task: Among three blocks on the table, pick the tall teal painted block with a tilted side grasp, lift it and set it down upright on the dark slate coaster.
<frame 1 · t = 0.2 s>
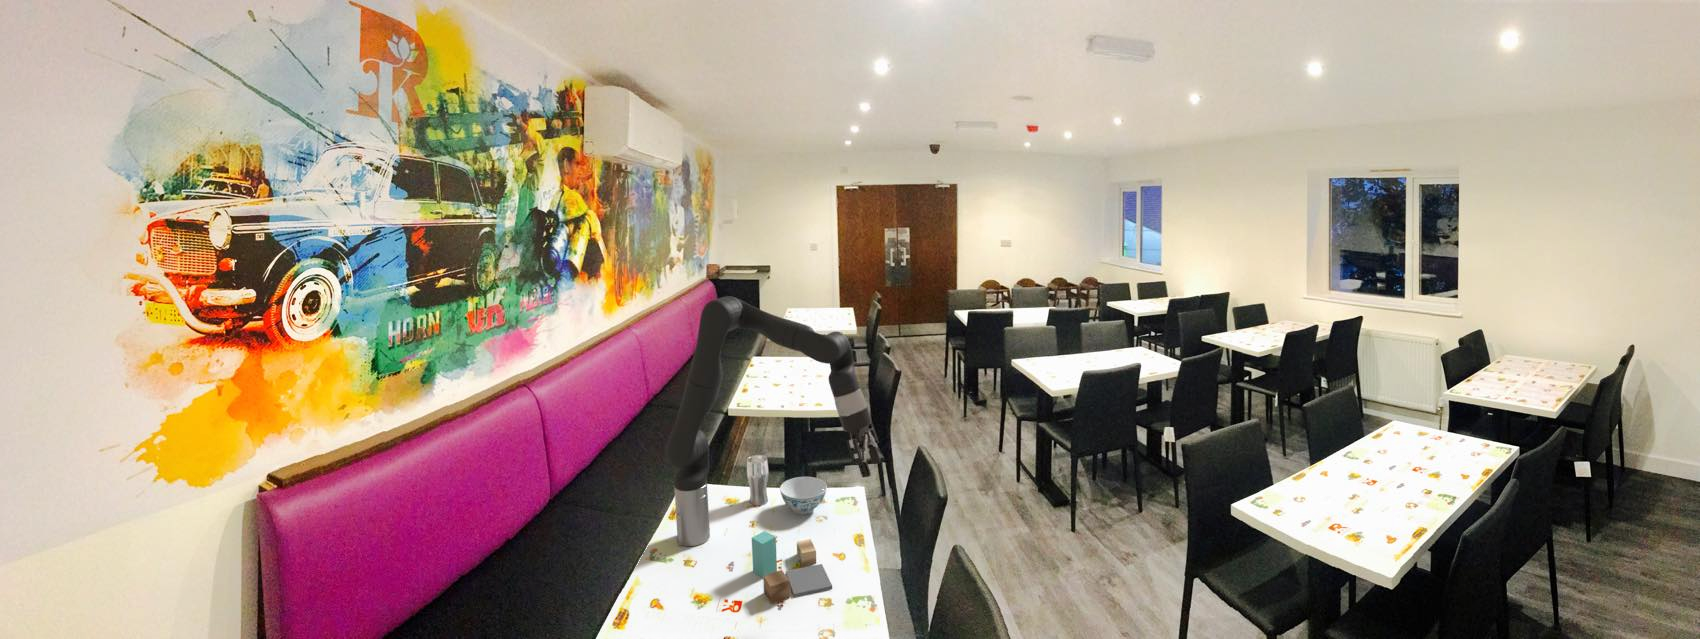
hand: (871, 469, 150), 31 cm above the table, tool tilted 20°, fingers open, 8 cm apart
chinaware: (804, 509, 192), on the table
walnut cube: (776, 595, 149), on the table
beer glass: (758, 501, 197), on the table
teal block: (765, 571, 159), on the table
coaster: (808, 581, 155), on the table
oak block: (806, 559, 165), on the table
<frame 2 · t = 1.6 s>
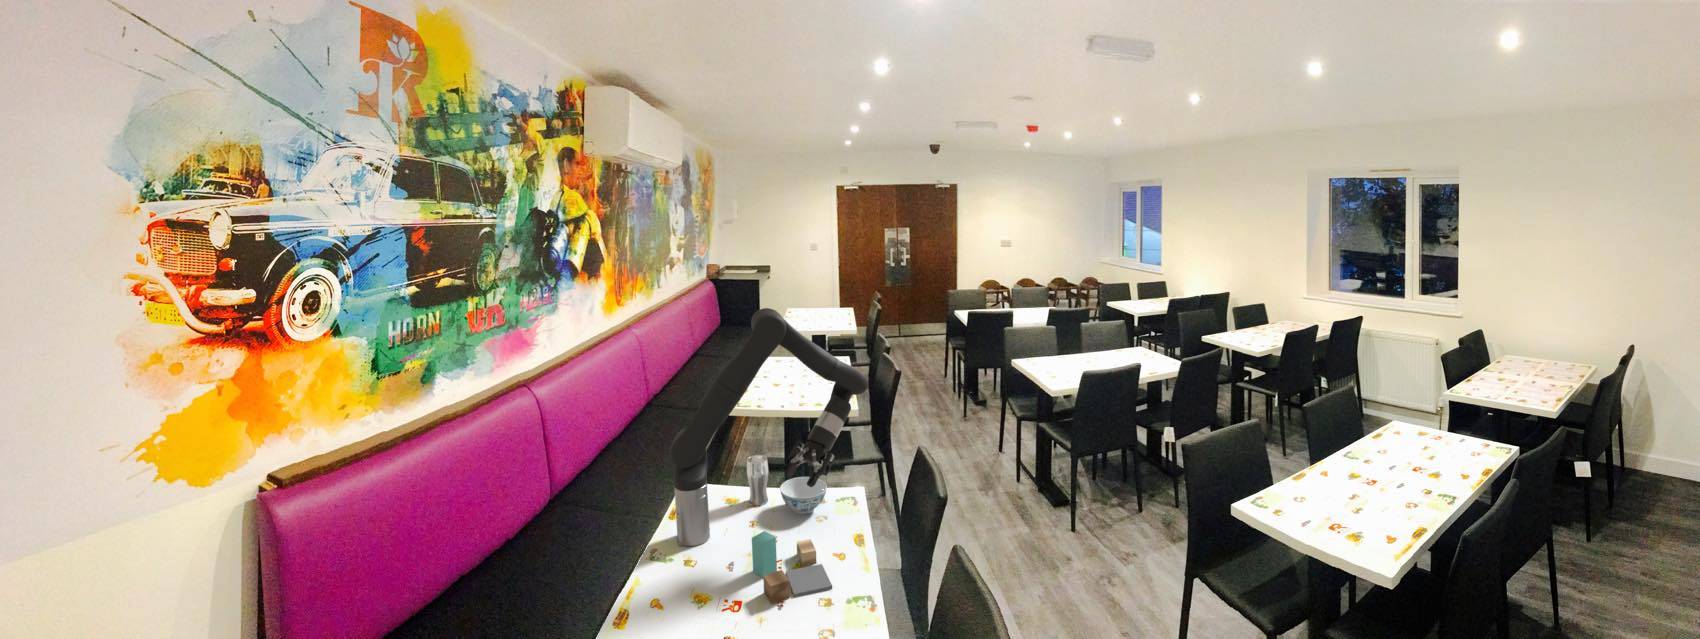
hand: (798, 481, 165), 21 cm above the table, tool tilted 45°, fingers open, 8 cm apart
nothing on the table moved.
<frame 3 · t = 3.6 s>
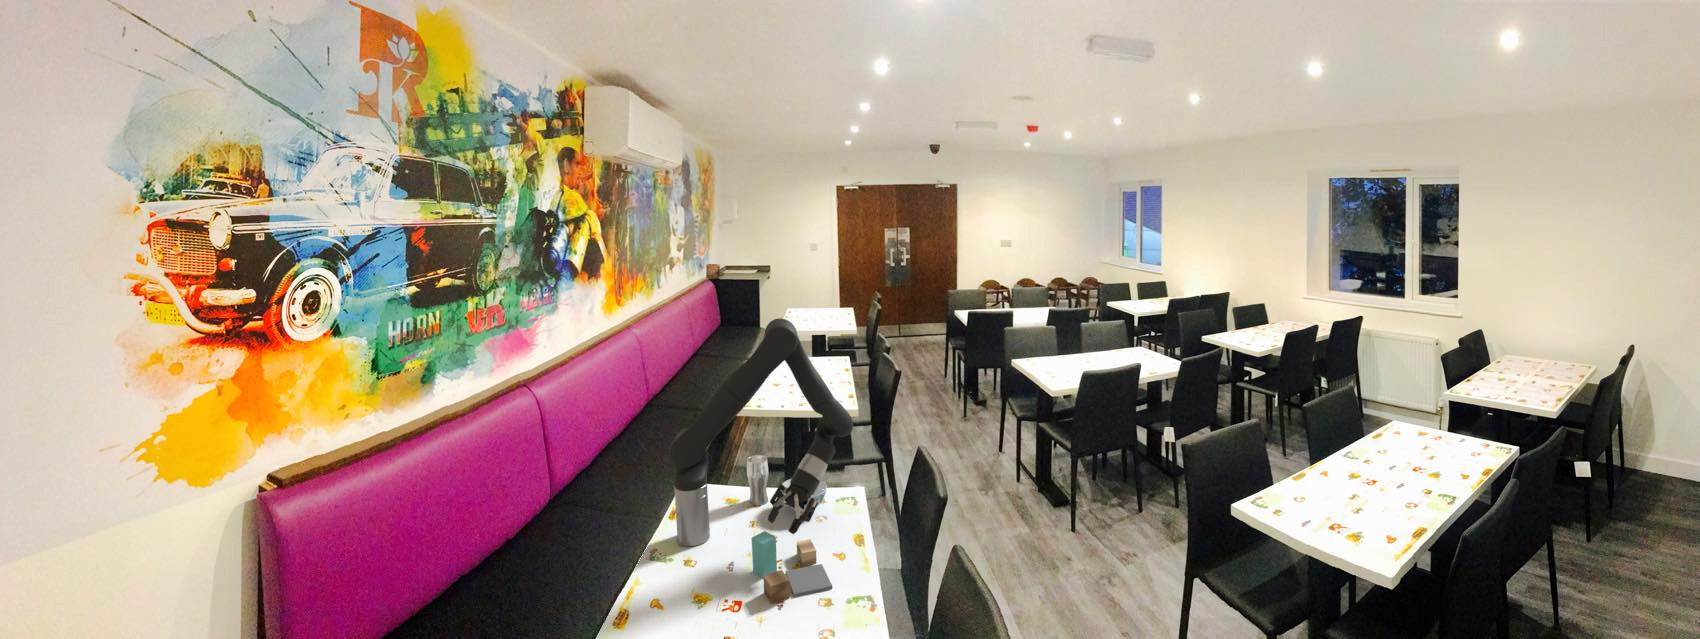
hand: (780, 527, 161), 10 cm above the table, tool tilted 45°, fingers open, 8 cm apart
nothing on the table moved.
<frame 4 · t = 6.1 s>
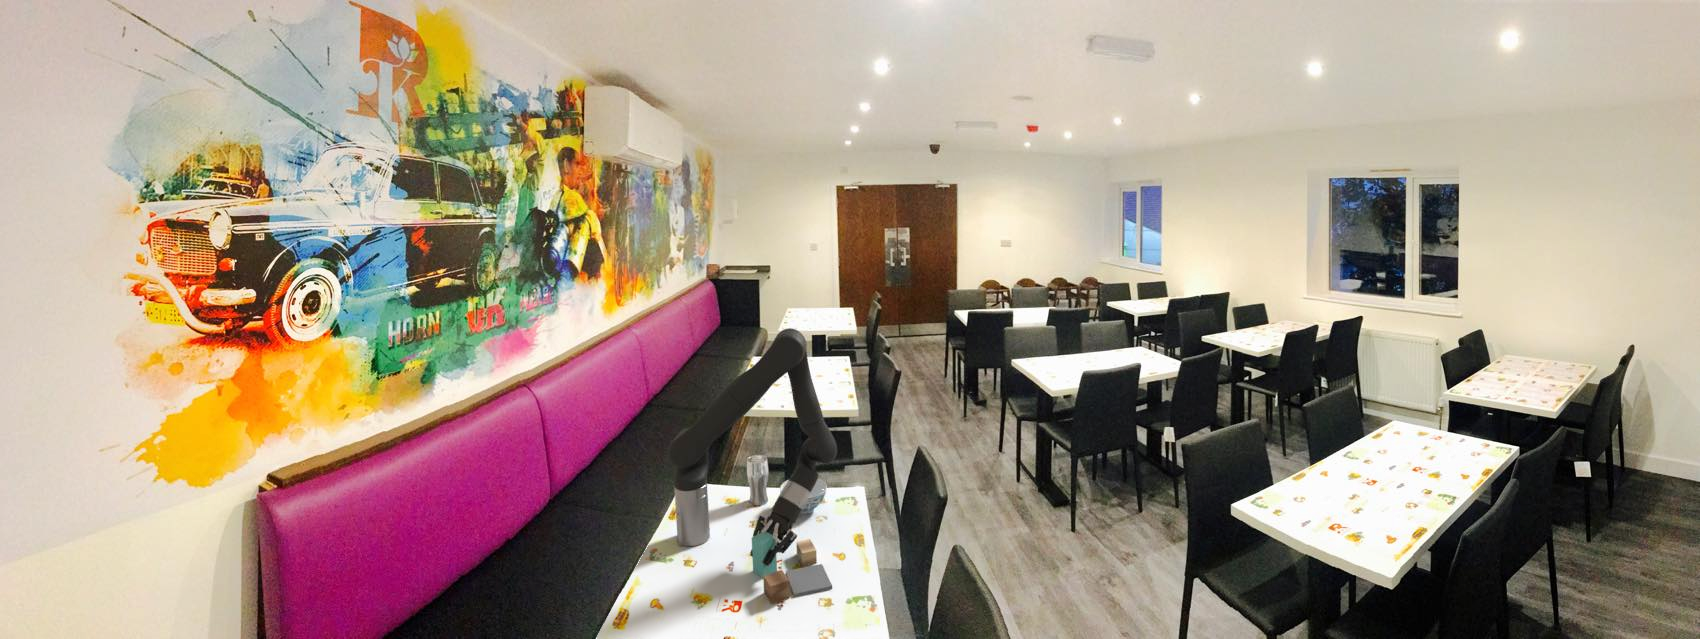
hand: (759, 560, 157), 4 cm above the table, tool tilted 45°, fingers closed on teal block, 4 cm apart
teal block: (765, 571, 159), on the table, touching gripper
everything else where it was.
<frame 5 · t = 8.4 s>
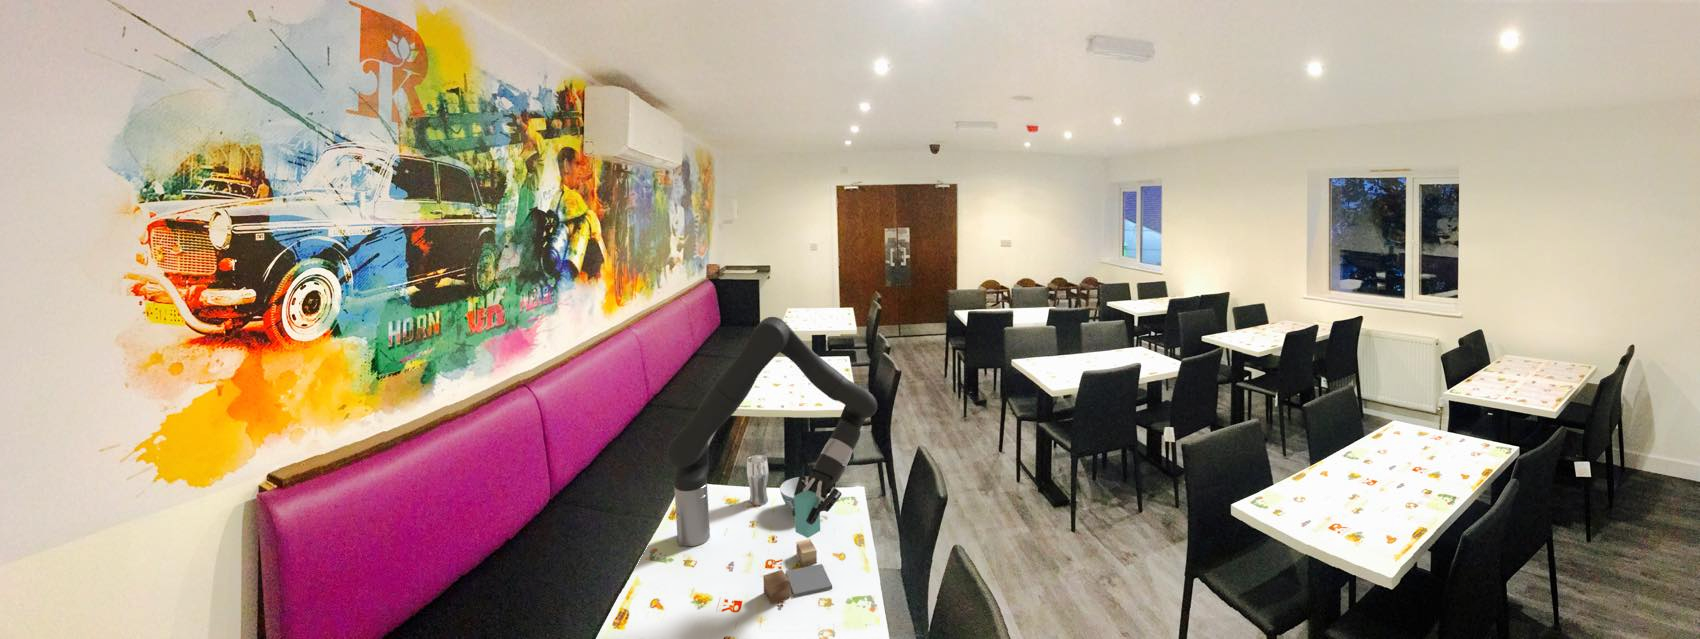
hand: (802, 519, 150), 18 cm above the table, tool tilted 45°, fingers closed on teal block, 4 cm apart
teal block: (807, 531, 152), point 14 cm above the table, touching gripper
everything else where it was.
when the fingers open (6 cm above the table, at t = 11.0 s): teal block drops 1 cm, resting on coaster.
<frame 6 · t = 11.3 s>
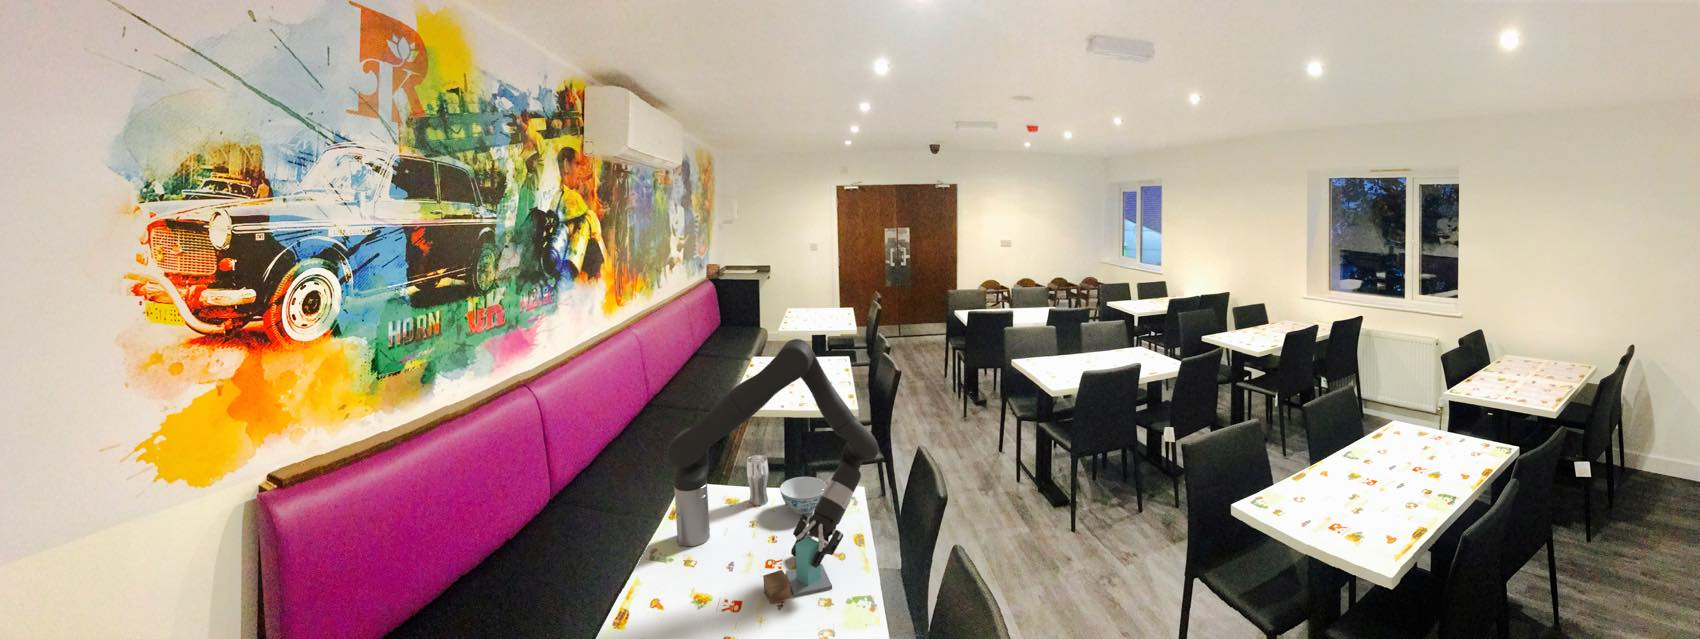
hand: (803, 560, 152), 7 cm above the table, tool tilted 45°, fingers open, 6 cm apart
teal block: (808, 578, 155), point 1 cm above the table, touching coaster
everything else where it was.
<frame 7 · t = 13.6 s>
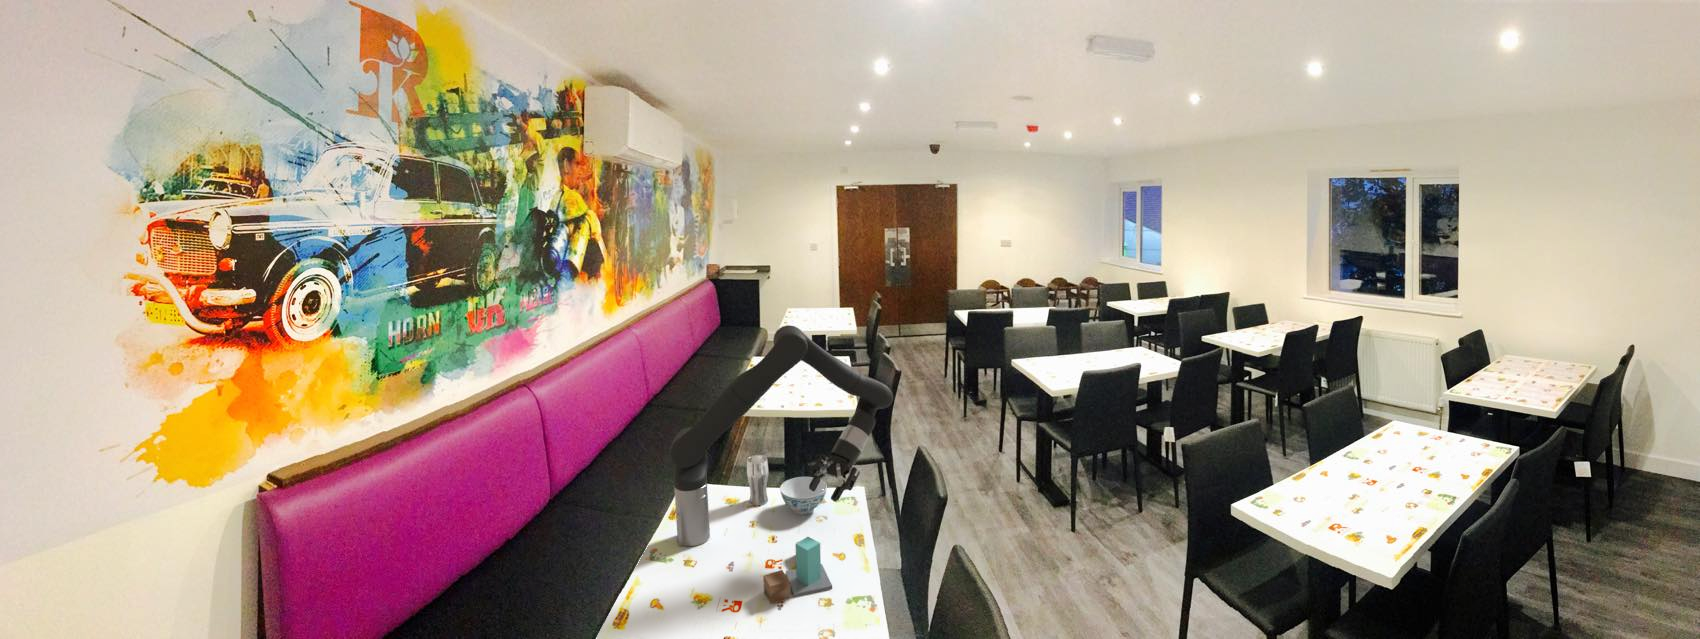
hand: (822, 495, 164), 17 cm above the table, tool tilted 45°, fingers open, 8 cm apart
nothing on the table moved.
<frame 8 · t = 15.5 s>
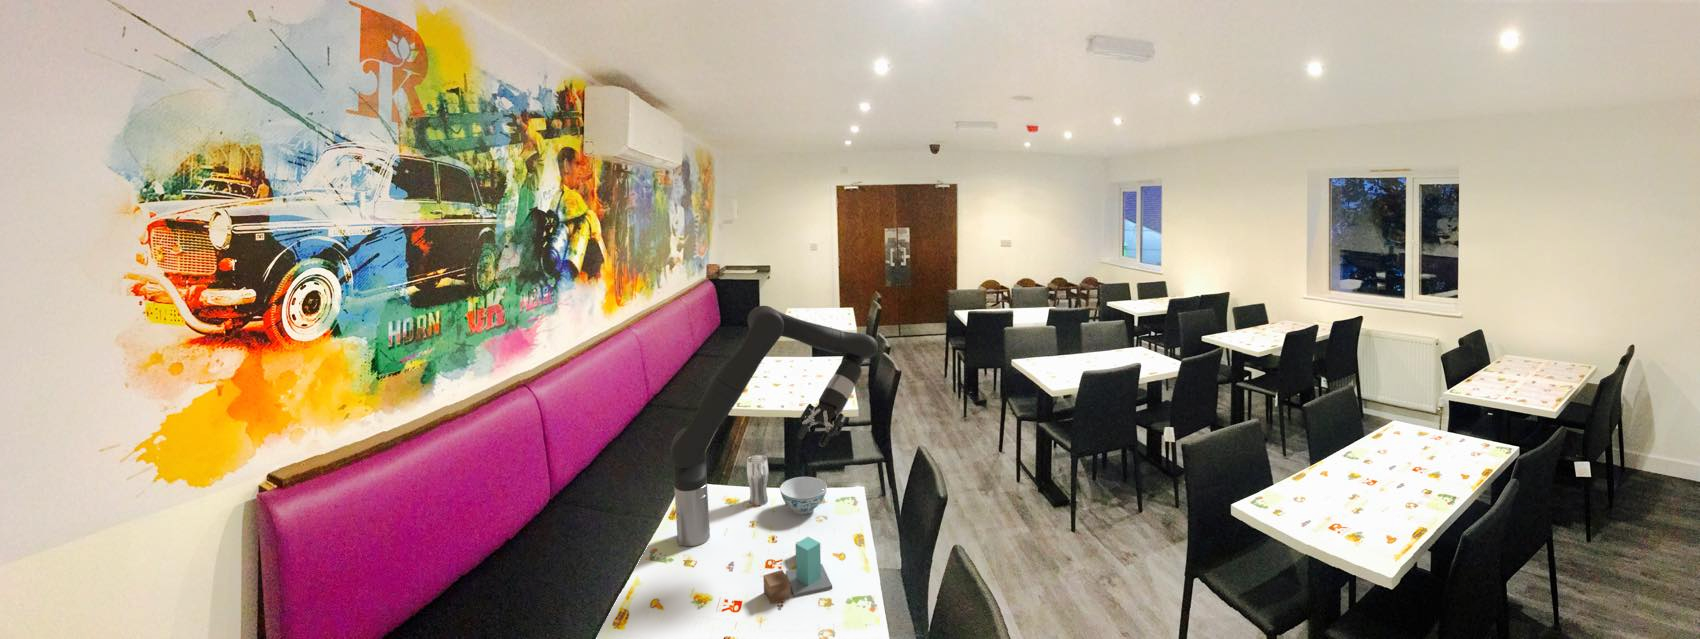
hand: (810, 441, 168), 31 cm above the table, tool tilted 45°, fingers open, 8 cm apart
nothing on the table moved.
at the end: teal block inside the target area on the coaster (0.1 cm from its centre), point 0.8 cm above the coaster's base; teal block tilted 0°; the gripper is holding nothing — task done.
